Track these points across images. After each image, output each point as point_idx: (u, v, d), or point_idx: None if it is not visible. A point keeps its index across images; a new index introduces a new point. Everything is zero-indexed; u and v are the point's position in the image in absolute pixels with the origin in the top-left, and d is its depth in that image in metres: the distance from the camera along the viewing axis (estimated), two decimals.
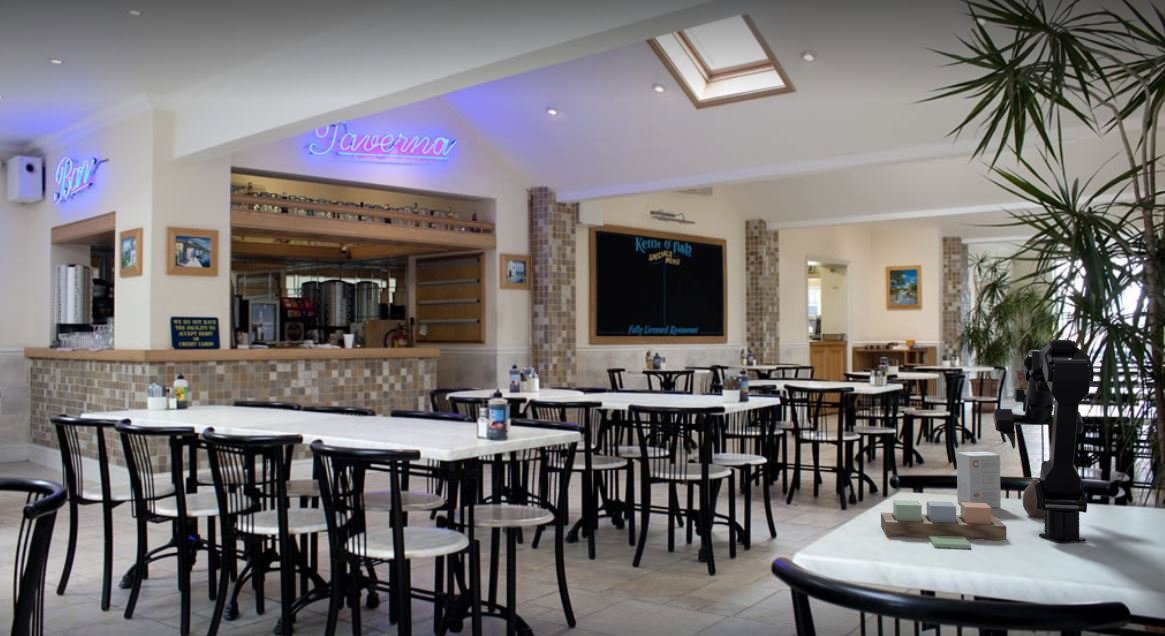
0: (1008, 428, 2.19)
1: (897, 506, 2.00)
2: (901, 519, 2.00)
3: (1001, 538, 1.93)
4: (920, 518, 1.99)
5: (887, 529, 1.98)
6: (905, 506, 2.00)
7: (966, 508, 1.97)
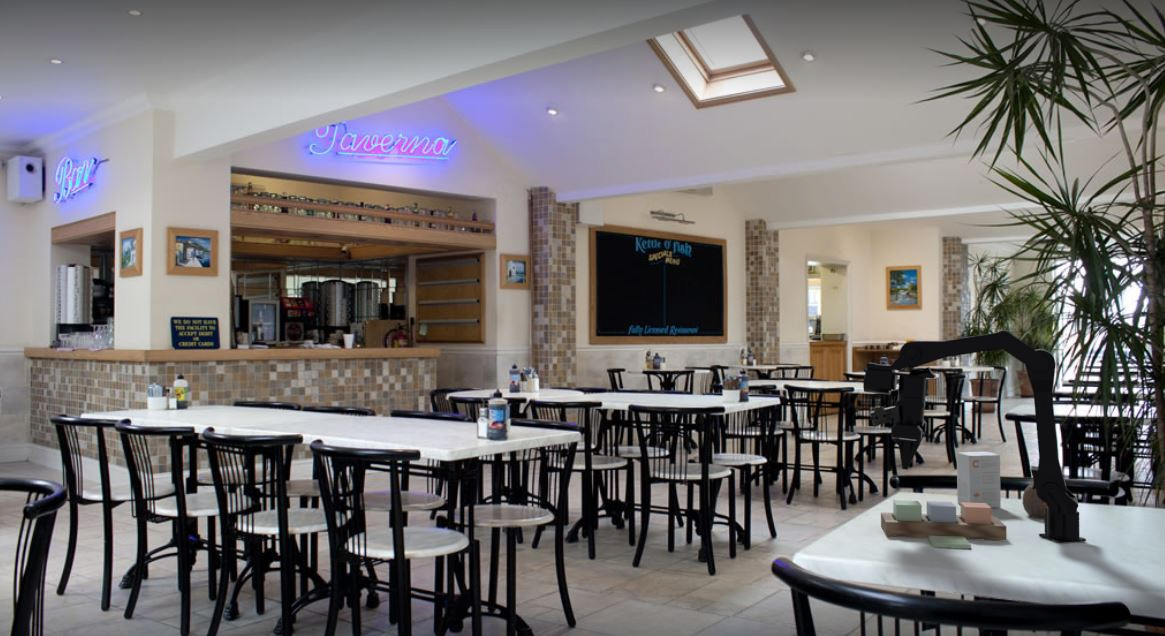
0: None
1: (897, 506, 2.00)
2: (901, 519, 2.00)
3: (1001, 538, 1.93)
4: (920, 518, 1.99)
5: (887, 529, 1.98)
6: (905, 506, 2.00)
7: (966, 508, 1.97)
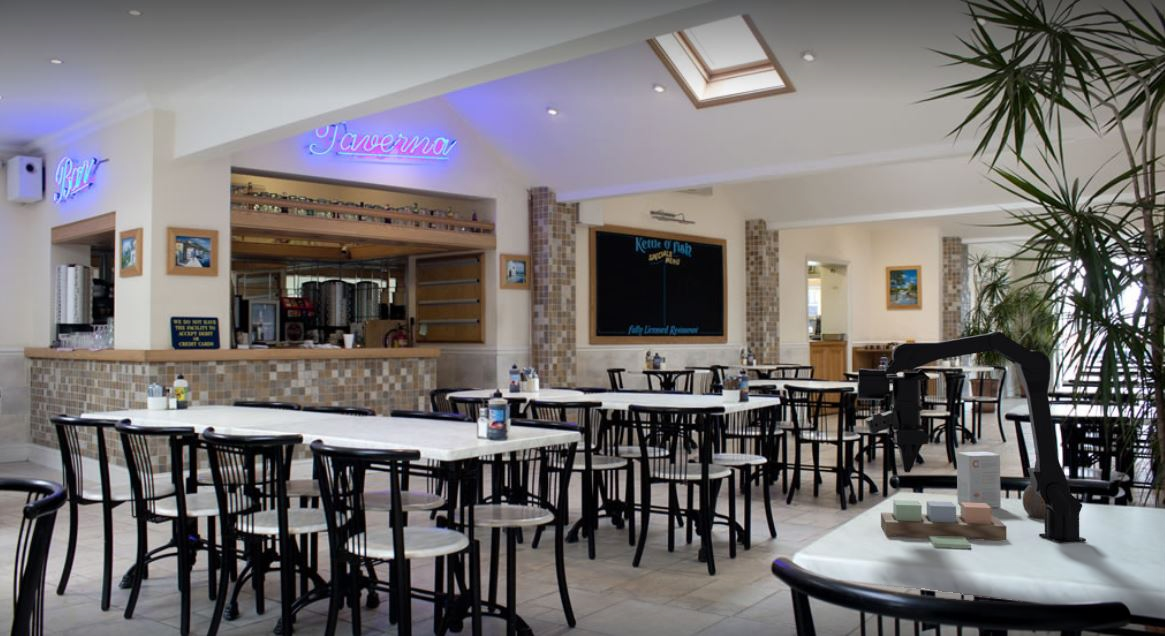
0: None
1: (897, 506, 2.00)
2: (901, 519, 2.00)
3: (1001, 538, 1.93)
4: (920, 518, 1.99)
5: (887, 529, 1.98)
6: (905, 506, 2.00)
7: (966, 508, 1.97)
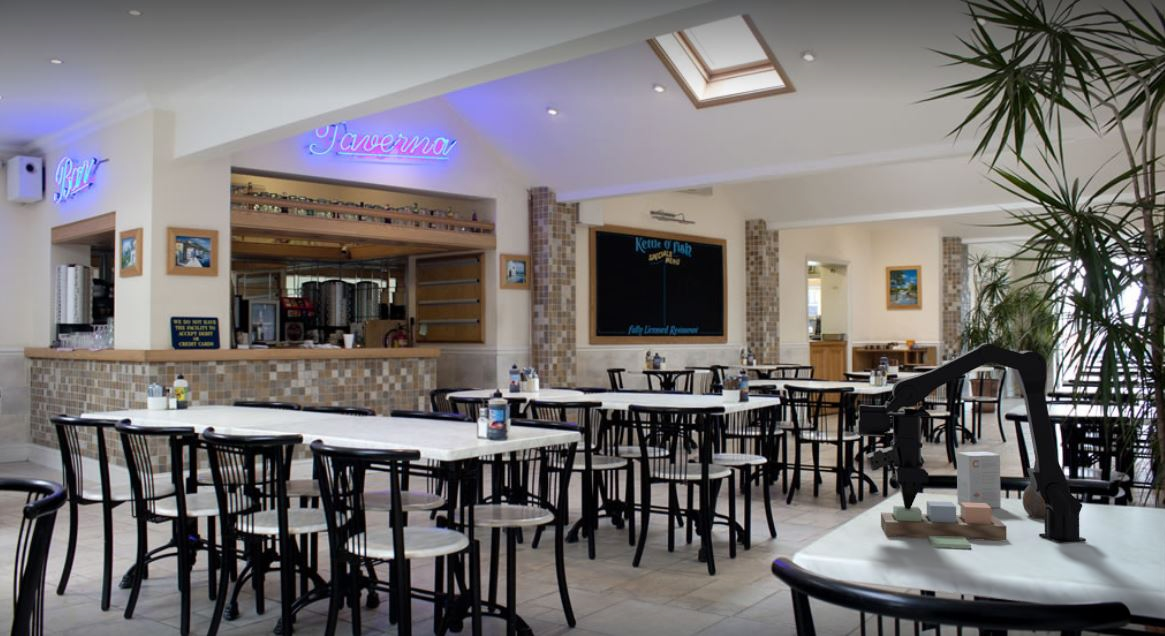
0: None
1: (897, 512, 2.00)
2: None
3: (1001, 538, 1.93)
4: None
5: (887, 529, 1.98)
6: (905, 512, 2.00)
7: (966, 508, 1.97)
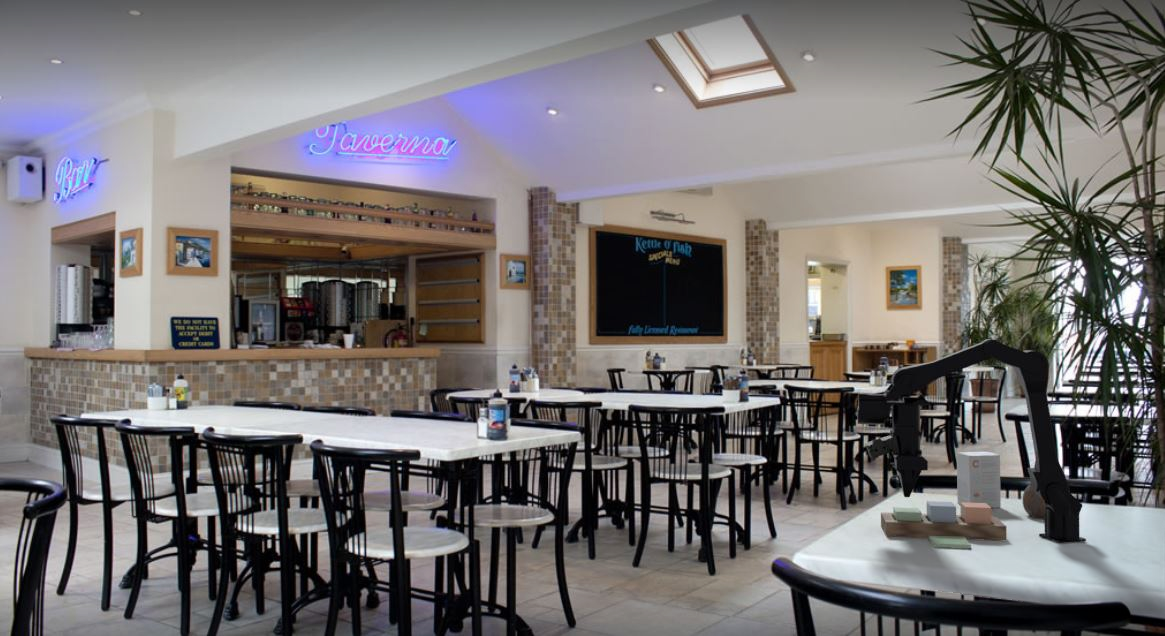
0: None
1: (897, 513, 2.00)
2: None
3: (1001, 538, 1.93)
4: None
5: (887, 529, 1.98)
6: (905, 513, 2.00)
7: (966, 508, 1.97)
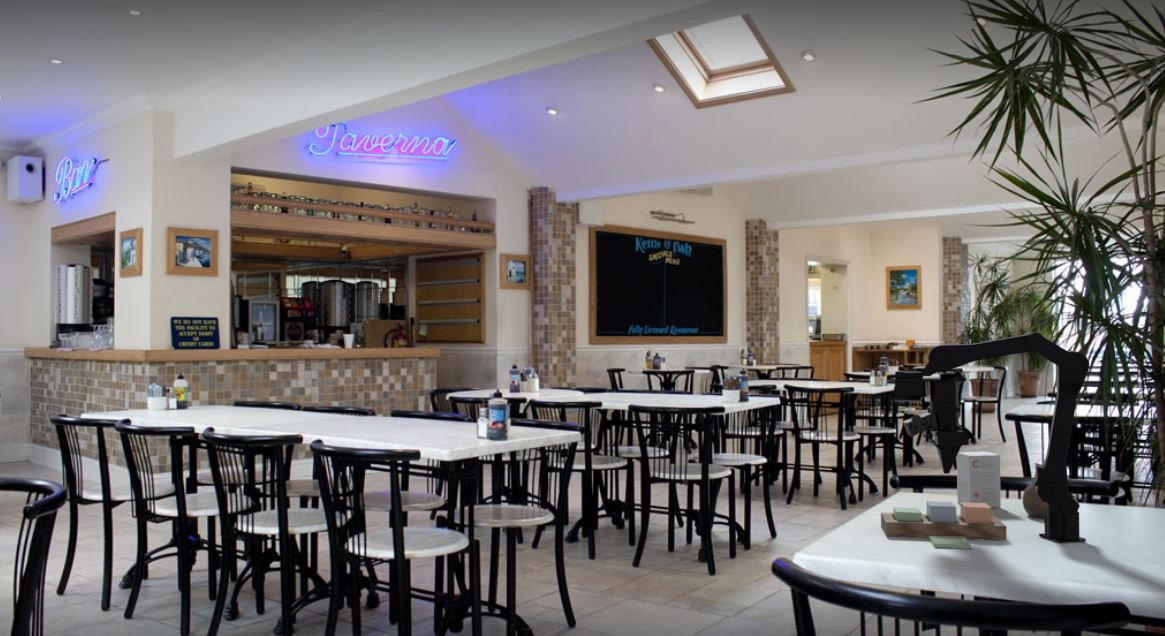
0: None
1: (897, 513, 2.00)
2: None
3: (1001, 538, 1.93)
4: None
5: (887, 529, 1.98)
6: (905, 513, 2.00)
7: (966, 508, 1.97)
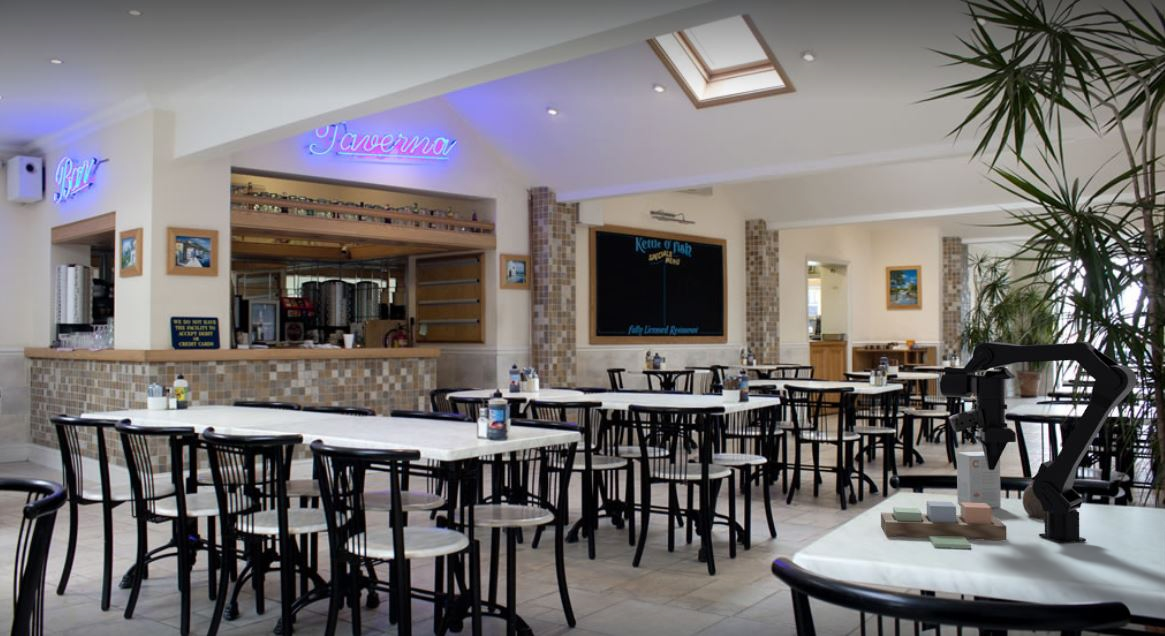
0: None
1: (897, 513, 2.00)
2: None
3: (1001, 538, 1.93)
4: None
5: (887, 529, 1.98)
6: (905, 513, 2.00)
7: (966, 508, 1.97)
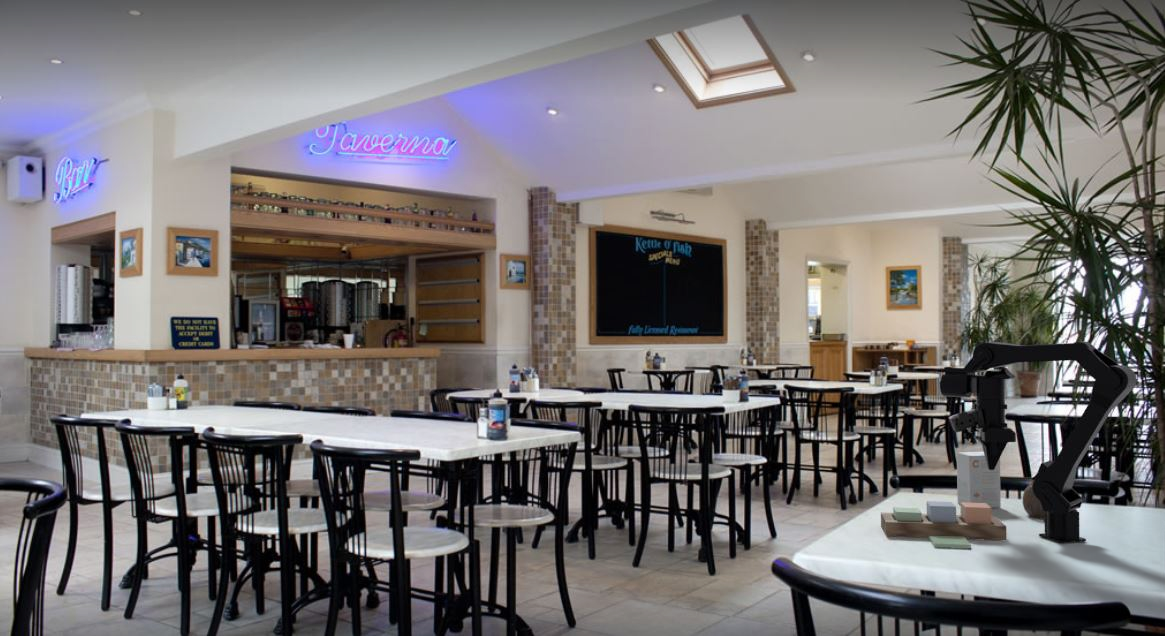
0: None
1: (897, 513, 2.00)
2: None
3: (1001, 538, 1.93)
4: None
5: (887, 529, 1.98)
6: (905, 513, 2.00)
7: (966, 508, 1.97)
